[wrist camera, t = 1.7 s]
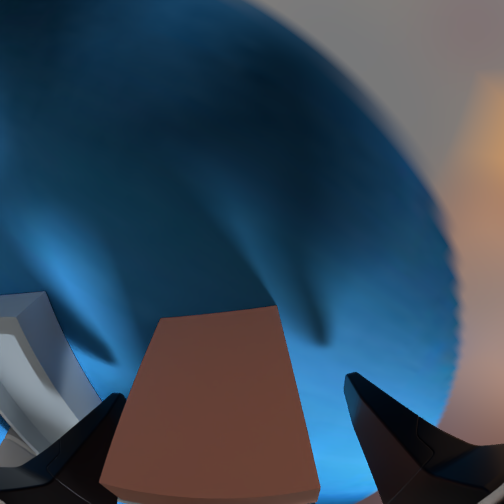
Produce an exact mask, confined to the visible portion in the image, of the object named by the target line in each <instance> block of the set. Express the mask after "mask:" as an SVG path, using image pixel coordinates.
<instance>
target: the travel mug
mask: <svg viewBox="0 0 504 504" xmlns="http://www.w3.org/2000/svg"><path fill="white" fill-rule="evenodd" d="M35 456H37V454H36V453H35V452H34V451H33V450H32V449H31V448H30V447H29V446H28V445H27V444H26V443H25V442H24V441H23V439H22V438H21V437H20V436H19V435H18V434H17V433H16V432H15V431H14V430H13V428H10V429H9V431H8V432H7V434H6V436H5V439H4V440H3V441H2V443H1V445H0V467H18V466H21V465H23V464H24V463H26V462H28V461H29V460H31V459H32V458H34V457H35Z"/></svg>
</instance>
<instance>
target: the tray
mask: <svg viewBox="0 0 504 504" xmlns="http://www.w3.org/2000/svg"><path fill="white" fill-rule="evenodd" d="M101 402H102V401H101V400H100V398H99V397H98V395H97V393H96V392H95V390H94V389H93V387H92V385H91V384H90V382H89V380H88V379H87V377H86V375H85V374H84V372H83V370H82V368H81V367H80V365H79V363H78V361H77V359H76V358H75V356H74V354H73V352H72V350H71V348H70V346H69V344H68V342H67V340H66V338H65V336H64V334H63V332H62V329H61V327H60V325H59V323H58V321H57V318H56V316H55V314H54V311H53V309H52V307H51V304H50V302H49V299H48V297H47V294H46V291H42V292H31V293H21V294H9V295H0V414H1V415H2V417H3V418H4V419H5V420H6V422H7V423H8V424H9V425H10V426H11V427H12V428H13V430H14V431H15V432H16V433H17V434H18V435H19V436H20V437H21V438H22V439H23V441H24V442H25V443H26V444H27V445H28V446H29V447H30V448H31V449H32V450H33V451H34V452H35V453H36V454H37V455H38V454H40V453H41V452H43V451H44V450H45V449H47V448H48V447H49V446H51V445H52V444H53V443H54V442H56V441H57V440H58V439H60V437H62V436H63V435H64V434H65V433H66V432H67V431H69V430H70V429H71V428H72V427H73V426H75V425H76V424H77V423H78V422H79V421H80V420H82V419H83V418H84V417H85V416H86V415H87V414H89V413H90V412H91V411H92V410H93V409H94V408H96V407H97V406H98V405H99V404H100V403H101ZM117 501H119V502H123V503H127V504H141V503H135V502H131V501H126V500H122V499H120V498H119V497H118V499H117Z"/></svg>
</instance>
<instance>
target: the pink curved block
mask: <svg viewBox="0 0 504 504" xmlns="http://www.w3.org/2000/svg"><path fill="white" fill-rule="evenodd" d="M99 483H100V484H101V485H103V486H104V487H105V488H106V489H108V490H109V491H110V492H112V493H113V494H114V495H116V496H117V497H119V498H120V499H122V500H126V501H131V502H135V503H141V504H308V503H313V502H317V500H318V496H319V492H320V483H319V479H318V475H317V470H316V466H315V462H314V457H313V453H312V449H311V444H310V440H309V436H308V431H307V427H306V423H305V419H304V414H303V410H302V406H301V402H300V398H299V394H298V389H297V385H296V381H295V377H294V373H293V369H292V365H291V361H290V356H289V352H288V348H287V344H286V340H285V336H284V332H283V328H282V324H281V320H280V316H279V312H278V308H277V305H276V306H268V307H261V308H254V309H246V310H238V311H229V312H221V313H211V314H202V315H192V316H181V317H169V318H160V320H159V323H158V325H157V327H156V330H155V332H154V334H153V337H152V339H151V341H150V344H149V346H148V348H147V351H146V353H145V355H144V358H143V360H142V363H141V365H140V368H139V370H138V373H137V375H136V378H135V380H134V383H133V385H132V388H131V390H130V393H129V396H128V398H127V401H126V404H125V406H124V409H123V412H122V414H121V417H120V420H119V423H118V425H117V428H116V431H115V434H114V437H113V440H112V443H111V446H110V449H109V452H108V455H107V458H106V461H105V464H104V467H103V470H102V474H101V477H100V480H99Z"/></svg>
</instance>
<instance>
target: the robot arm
mask: <svg viewBox="0 0 504 504" xmlns="http://www.w3.org/2000/svg"><path fill="white" fill-rule="evenodd" d="M344 394H345V398H346V402H347V405H348V409H349V413H350V417H351V421H352V424H353V427H354V430H355V432H356V435H357V437H358V440H359V442H360V445H361V447H362V450H363V453H364V455H365V458H366V460H367V463H368V465H369V468H370V470H371V473H372V476H373V478H374V481H375V484H376V486H377V489H378V491H379V494H380V497H381V499H382V502H383V504H504V444H496V445H485V446H478V445H473V444H469V443H467V442H465V441H463V440H461V439H459V438H456V437H454V436H452V435H450V434H448V433H446V432H444V431H442V430H440V429H439V428H437V427H435V426H433V425H432V424H430V423H429V422H427V421H425V420H424V419H422V418H421V417H418V415H416V414H415V413H414V412H412V411H411V410H409V409H408V408H406V407H405V406H403V405H402V404H401V403H399V402H398V401H396V400H395V399H393V398H392V397H391V396H389V395H388V394H386V393H385V392H384V391H382V390H381V389H379V388H378V387H377V386H375V385H374V384H372V383H371V382H370V381H368V380H367V379H366V378H364V377H363V376H361V375H360V374H359V373H357V372H353V373H349V374H346V376H345V383H344ZM126 401H127V400H126V399H125V397H124V395H123V394H121V393H112V394H111V395H109V396H108V397H107V398H106V399H105V400H104V401H103V402H101V403H100V404H99V405H98V406H97V407H96V408H94V409H93V410H92V411H91V412H90V413H89V414H87V415H86V416H85V417H84V418H83V419H82V420H80V421H79V422H78V423H77V424H76V425H75V426H73V427H72V428H71V429H70V430H69V431H67V432H66V433H65V434H64V435H63V436H62V437H60V439H58V440H57V441H56V442H54V443H53V444H52V445H51V446H49V447H48V448H47V449H45V450H44V451H43V452H41V453H40V454H38V455H37V456H35V457H34V458H32V459H31V460H29V461H28V462H26V463H24V464H23V465H21V466H18V467H0V504H117V499H118V497H117V496H116V495H114V494H113V493H112V492H110V491H109V490H108V489H106V488H105V487H104V486H103V485H101V484H100V483H99V480H100V477H101V474H102V470H103V467H104V464H105V461H106V458H107V455H108V452H109V449H110V446H111V443H112V440H113V437H114V434H115V431H116V428H117V425H118V423H119V420H120V417H121V414H122V412H123V409H124V406H125V404H126Z"/></svg>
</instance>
